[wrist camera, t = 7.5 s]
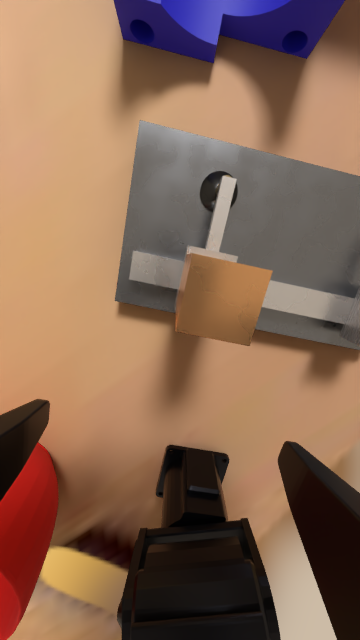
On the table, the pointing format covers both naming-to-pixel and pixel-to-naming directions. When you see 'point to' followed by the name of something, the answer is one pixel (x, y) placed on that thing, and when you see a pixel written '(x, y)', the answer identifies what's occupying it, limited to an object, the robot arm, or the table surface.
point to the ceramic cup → (25, 535)
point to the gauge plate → (246, 230)
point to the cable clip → (225, 24)
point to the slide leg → (219, 284)
